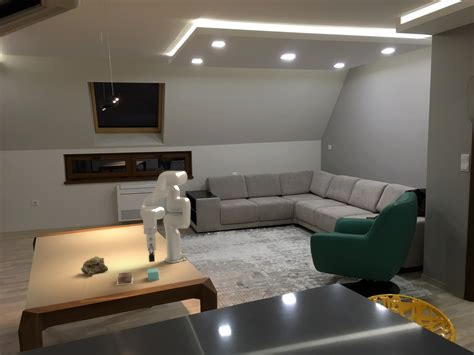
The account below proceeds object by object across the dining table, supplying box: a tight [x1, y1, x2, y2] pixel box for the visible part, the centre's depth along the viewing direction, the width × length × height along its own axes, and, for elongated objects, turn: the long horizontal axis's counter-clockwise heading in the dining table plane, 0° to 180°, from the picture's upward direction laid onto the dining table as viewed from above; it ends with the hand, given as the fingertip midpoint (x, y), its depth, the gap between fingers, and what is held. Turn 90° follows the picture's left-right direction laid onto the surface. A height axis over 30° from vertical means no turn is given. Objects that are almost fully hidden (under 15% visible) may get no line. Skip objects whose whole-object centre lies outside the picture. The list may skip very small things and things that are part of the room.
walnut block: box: [117, 271, 133, 285], centre depth 228 cm, size 7×7×4 cm
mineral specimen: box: [80, 255, 109, 275], centre depth 246 cm, size 14×13×10 cm
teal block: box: [147, 267, 160, 281], centre depth 231 cm, size 6×6×6 cm
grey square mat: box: [116, 277, 134, 286], centre depth 228 cm, size 16×14×1 cm
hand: (151, 259), depth 229 cm, fingers open, 9 cm apart
